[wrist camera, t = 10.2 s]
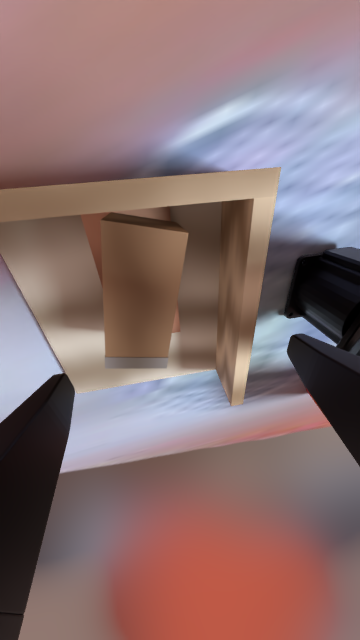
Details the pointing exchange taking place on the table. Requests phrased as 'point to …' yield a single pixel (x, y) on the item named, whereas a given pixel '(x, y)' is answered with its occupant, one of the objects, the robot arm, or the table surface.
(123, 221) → the walnut block
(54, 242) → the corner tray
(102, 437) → the table surface
